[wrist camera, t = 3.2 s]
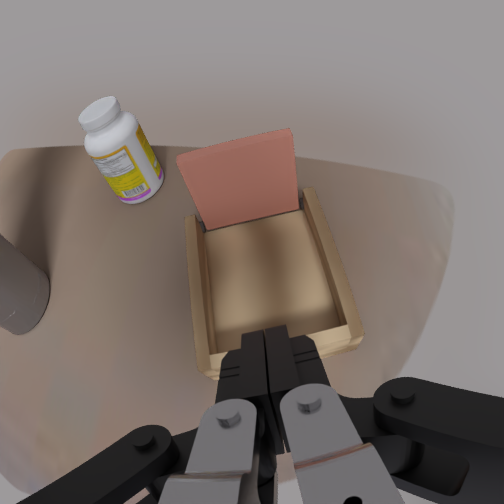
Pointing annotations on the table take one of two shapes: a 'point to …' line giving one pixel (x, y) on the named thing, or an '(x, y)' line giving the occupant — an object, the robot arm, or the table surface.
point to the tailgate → (242, 178)
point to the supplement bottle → (121, 150)
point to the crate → (269, 284)
